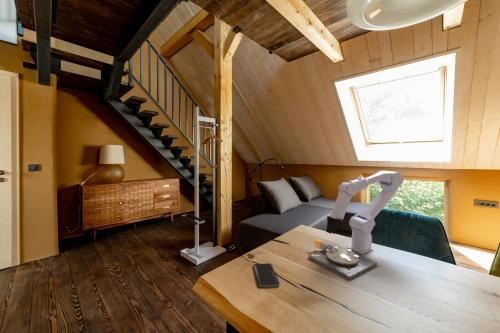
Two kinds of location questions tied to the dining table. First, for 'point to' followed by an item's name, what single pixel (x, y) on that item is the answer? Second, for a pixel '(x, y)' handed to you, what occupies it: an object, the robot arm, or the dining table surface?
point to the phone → (265, 275)
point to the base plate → (343, 270)
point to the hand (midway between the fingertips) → (330, 232)
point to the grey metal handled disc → (338, 254)
